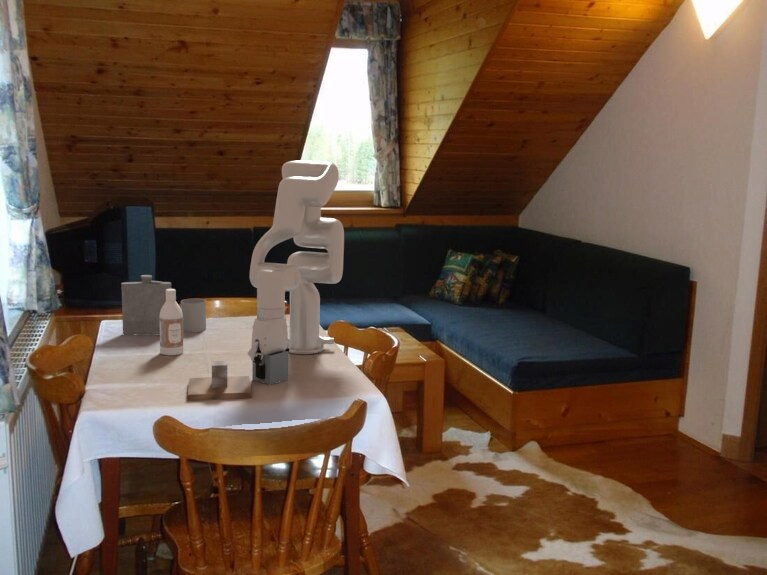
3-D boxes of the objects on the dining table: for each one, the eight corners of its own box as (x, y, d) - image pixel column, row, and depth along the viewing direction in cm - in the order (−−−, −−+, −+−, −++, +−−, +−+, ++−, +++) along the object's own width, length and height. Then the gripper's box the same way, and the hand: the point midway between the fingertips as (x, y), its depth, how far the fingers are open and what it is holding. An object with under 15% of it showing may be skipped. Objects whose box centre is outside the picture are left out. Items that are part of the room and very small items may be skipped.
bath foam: (164, 357, 231) (162, 292, 228) (157, 351, 237) (155, 288, 233) (186, 354, 235) (185, 290, 231) (179, 349, 241) (178, 286, 237)
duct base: (248, 381, 211) (248, 355, 210) (251, 397, 198) (251, 370, 196) (189, 383, 208) (188, 356, 206) (187, 400, 194) (187, 372, 193)
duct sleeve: (270, 374, 218) (270, 347, 217) (288, 379, 214) (288, 351, 213) (252, 379, 213) (252, 351, 211) (270, 385, 209) (270, 356, 207)
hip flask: (122, 335, 255) (120, 276, 251) (123, 332, 258) (122, 274, 255) (171, 334, 258) (170, 276, 254) (172, 331, 262) (171, 274, 258)
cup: (211, 328, 267) (210, 301, 266) (193, 333, 261) (193, 304, 259) (193, 325, 272) (193, 297, 270) (176, 329, 265) (175, 301, 263)
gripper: (283, 306, 219) (282, 365, 222) (237, 315, 205) (237, 379, 209) (302, 310, 215) (301, 371, 218) (257, 320, 201) (256, 385, 204)
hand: (270, 374), depth 213 cm, fingers closed on duct sleeve, 7 cm apart
